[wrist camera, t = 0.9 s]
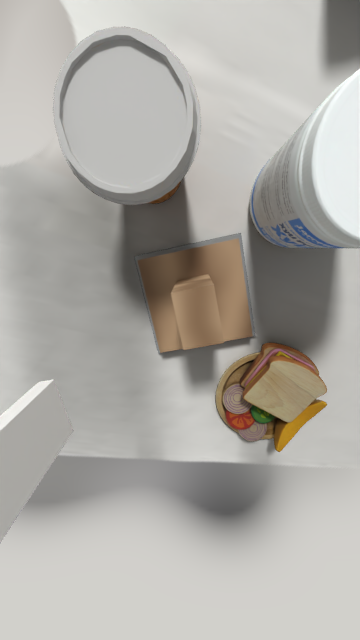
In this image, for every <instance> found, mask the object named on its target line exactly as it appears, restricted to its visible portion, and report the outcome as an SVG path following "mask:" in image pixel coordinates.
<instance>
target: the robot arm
mask: <svg viewBox="0 0 360 640" xmlns="http://www.w3.org/2000/svg"><path fill="white" fill-rule="evenodd" d="M72 432H73V428H72V425H71V423H70V420H69V417H68V415H67V412H66V409H65V407H64V404H63V401H62V399H61V396H60V393H59V391H58V388H57V385H56V383H55V380H48V381H42V382H38V383H37V384H36V385H35V386H34V387H32V388H31V389H30V390H29V391H28V392H27V393H26V394H24V395H23V396H22V397H21V398H20V399H19V400H18V401H16V402H15V403H14V404H13V405H12V406H11V407H10V408H8V409H7V410H6V411H5V412H4V413H3V414H2V415H0V543H1V541H2V540H3V538H4V537H5V535H6V534H7V532H8V530H9V529H10V527H11V526H12V524H13V523H14V521H15V520H16V518H17V516H18V515H19V514H20V512H21V510H22V509H23V507H24V506H25V504H26V503H27V501H28V500H29V498H30V497H31V495H32V494H33V492H34V491H35V489H36V488H37V486H38V484H39V483H40V481H41V480H42V478H43V477H44V475H45V474H46V472H47V470H48V469H49V467H50V466H51V465H52V463H53V461H54V460H55V458H56V457H57V455H58V454H59V452H60V451H61V449H62V448H63V446H64V445H65V443H66V442H67V440H68V438H69V437H70V435H71V434H72Z"/></svg>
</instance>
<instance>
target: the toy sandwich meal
mask: <svg viewBox="0 0 360 640" xmlns="http://www.w3.org/2000/svg"><path fill="white" fill-rule="evenodd" d="M326 392H327V388H326V385H325V384H324V382H323V380H322V379H321V378H320V377H319V372H318V369H317V368H316V366H315V364H314V363H313V362H312V361H311V360H310V359H309V358H308V357H307V356H306V355H304V354H303V353H301V352H300V351H298V350H296V349H294V348H291V347H289V346H286V345H282V344H277V343H265V344H263V345H262V349H261V352H258V353H254V354H250V355H247V356H245V357H243V358H241V359H239V360H238V361H236V362H235V363H233V364H232V365H231V366H230V367H229V368H228V369H227V370H226V371H225V372H224V374H223V375H222V377H221V379H220V381H219V383H218V386H217V390H216V406H217V409H218V412H219V414H220V416H221V418H222V419H223V421H224V422H225V423H226V424H227V425H228V426H229V427H230V428H231V429H233V430H234V431H235V432H237V433H239V434H240V436H241V437H242V438H244V439H245V440H247V441H257V440H259V439H272V438H274V445H275V449H276V450H277V451H278V452H280V451H281V450H282V449H283V448H284V447H285V446H286V444H287V443H288V442H289V441H290V440H291V439H292V438H293V437H294V435H295V434H296V433H297V432H298V430H299V429H300V428H301V427H302V426H303V425H304V424H305V423H306V422H307V421H308V420H310V419H311V418H312V417H314V416H315V415H316V414H317V413H318V412H320V411H321V410H322V409H323V408H324V407H325V406H326V405H327V404H326V403H325V402H324V401H321V400H316V398H317V397H319V396H322V395H324V394H325V393H326Z"/></svg>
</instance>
